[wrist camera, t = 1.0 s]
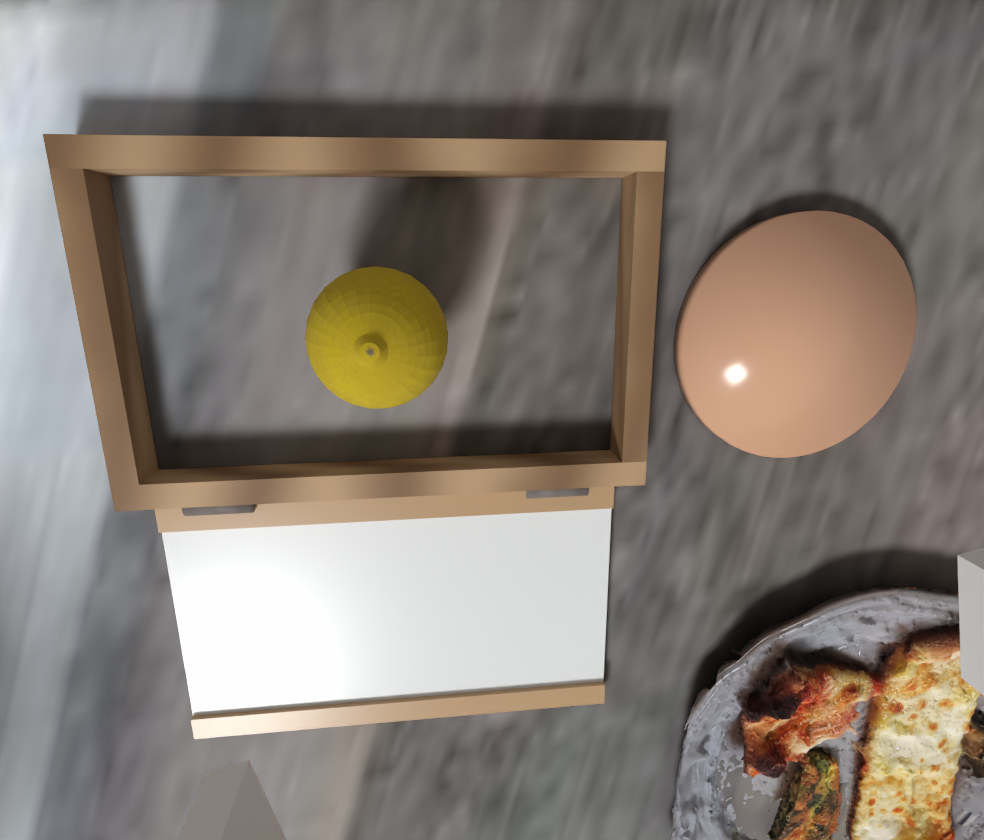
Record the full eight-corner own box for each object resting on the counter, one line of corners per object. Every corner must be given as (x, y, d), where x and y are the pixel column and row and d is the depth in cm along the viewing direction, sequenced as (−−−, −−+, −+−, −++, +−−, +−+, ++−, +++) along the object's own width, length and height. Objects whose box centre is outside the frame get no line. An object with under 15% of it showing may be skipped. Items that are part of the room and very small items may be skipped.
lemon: (458, 367, 28) (470, 407, 21) (346, 398, 28) (316, 450, 20) (426, 251, 27) (426, 247, 19) (307, 283, 27) (259, 292, 19)
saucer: (665, 456, 31) (673, 462, 30) (682, 212, 28) (692, 210, 27) (880, 446, 32) (894, 452, 31) (920, 211, 29) (937, 210, 28)
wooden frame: (138, 507, 28) (117, 525, 27) (73, 144, 24) (42, 134, 22) (630, 483, 31) (644, 498, 29) (649, 149, 27) (666, 140, 25)
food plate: (690, 574, 33) (721, 612, 29) (1058, 562, 36) (1125, 595, 32) (641, 903, 40) (662, 964, 36) (952, 871, 43) (997, 924, 39)
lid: (201, 724, 32) (194, 739, 31) (163, 500, 28) (154, 509, 28) (599, 690, 34) (604, 703, 33) (608, 479, 31) (614, 486, 30)
